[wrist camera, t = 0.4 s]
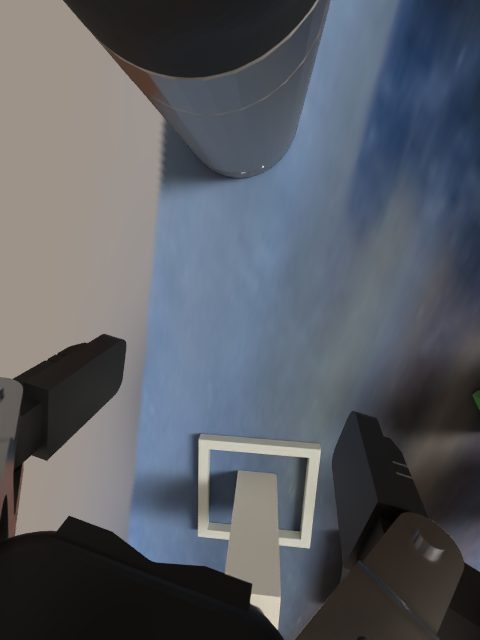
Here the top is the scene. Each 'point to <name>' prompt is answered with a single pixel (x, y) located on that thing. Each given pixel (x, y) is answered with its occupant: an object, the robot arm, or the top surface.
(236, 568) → the plug
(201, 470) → the square frame
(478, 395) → the ink box
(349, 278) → the top surface
